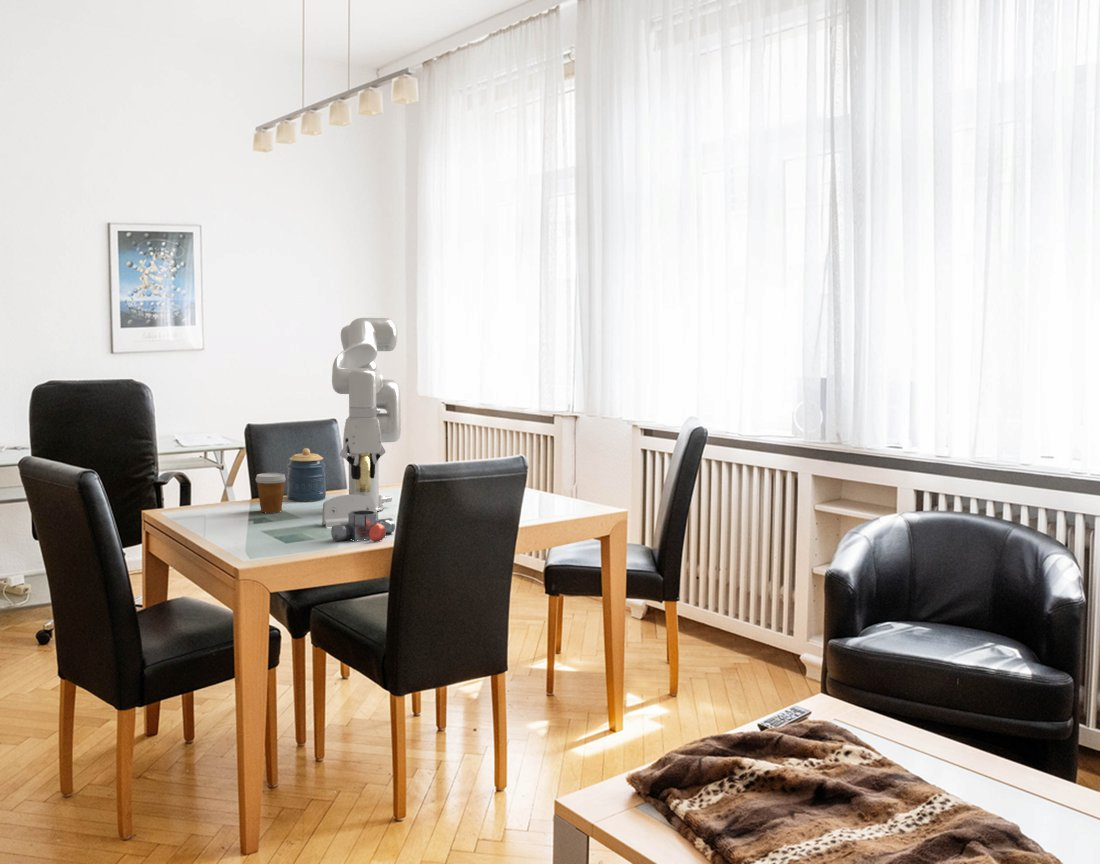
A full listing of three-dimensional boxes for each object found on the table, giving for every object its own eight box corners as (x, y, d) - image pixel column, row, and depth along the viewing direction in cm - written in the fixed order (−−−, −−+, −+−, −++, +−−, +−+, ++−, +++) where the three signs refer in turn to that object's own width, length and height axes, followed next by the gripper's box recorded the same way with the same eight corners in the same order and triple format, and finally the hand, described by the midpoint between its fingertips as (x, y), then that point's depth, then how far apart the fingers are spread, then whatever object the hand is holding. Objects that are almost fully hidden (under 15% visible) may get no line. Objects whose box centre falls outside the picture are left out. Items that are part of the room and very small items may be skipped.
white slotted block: (325, 528, 292) (322, 494, 294) (321, 530, 296) (318, 497, 298) (380, 523, 299) (377, 491, 301) (376, 526, 303) (373, 494, 305)
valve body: (383, 530, 289) (383, 507, 288) (405, 537, 280) (405, 513, 279) (328, 538, 277) (327, 514, 276) (349, 546, 268) (348, 520, 267)
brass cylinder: (365, 489, 281) (365, 447, 280) (373, 491, 278) (372, 449, 277) (353, 491, 278) (353, 448, 277) (360, 492, 275) (360, 450, 274)
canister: (333, 497, 344) (332, 447, 342) (313, 503, 332) (312, 451, 330) (300, 494, 348) (299, 445, 346) (279, 500, 336) (279, 449, 334)
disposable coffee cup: (258, 515, 309) (257, 477, 308) (253, 510, 318) (253, 473, 317) (289, 513, 313) (288, 476, 312) (284, 508, 322) (283, 472, 321)
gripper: (381, 411, 284) (381, 474, 286) (329, 414, 274) (329, 479, 275) (395, 413, 279) (395, 477, 280) (342, 415, 268) (343, 482, 270)
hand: (363, 477), depth 278 cm, fingers closed on brass cylinder, 4 cm apart
